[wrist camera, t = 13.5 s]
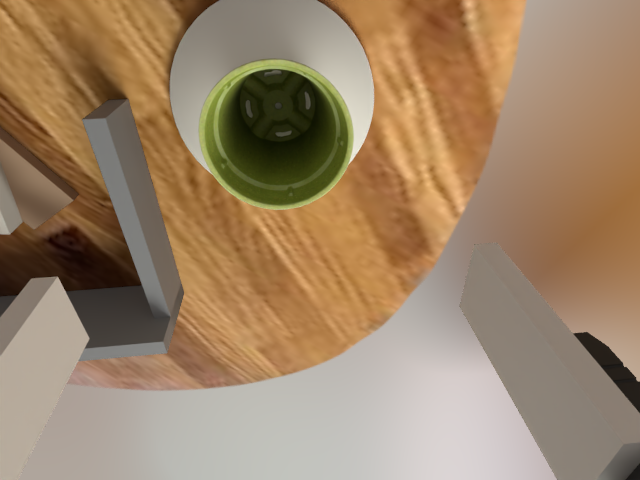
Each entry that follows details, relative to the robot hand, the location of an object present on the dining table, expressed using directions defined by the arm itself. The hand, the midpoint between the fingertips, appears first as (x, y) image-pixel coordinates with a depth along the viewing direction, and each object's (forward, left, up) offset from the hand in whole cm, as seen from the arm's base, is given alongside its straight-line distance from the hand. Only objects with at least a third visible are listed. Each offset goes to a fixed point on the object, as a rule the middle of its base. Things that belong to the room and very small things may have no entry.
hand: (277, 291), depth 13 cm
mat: (0, 0, -23) cm, 23 cm away
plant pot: (0, 0, -22) cm, 22 cm away
